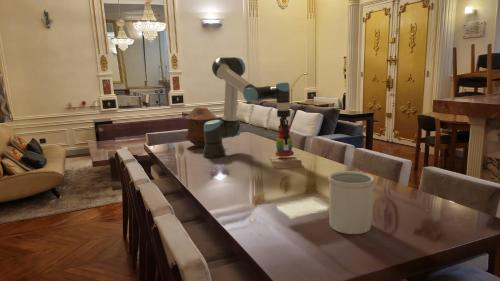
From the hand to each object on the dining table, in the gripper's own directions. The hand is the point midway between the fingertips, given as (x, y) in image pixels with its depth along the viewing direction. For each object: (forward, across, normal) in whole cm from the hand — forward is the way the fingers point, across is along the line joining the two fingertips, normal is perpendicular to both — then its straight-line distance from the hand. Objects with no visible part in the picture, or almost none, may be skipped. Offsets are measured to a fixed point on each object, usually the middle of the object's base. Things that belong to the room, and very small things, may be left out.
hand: (284, 148), depth 209 cm
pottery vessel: (+10, +72, +52) cm, 89 cm away
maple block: (+10, 0, 0) cm, 10 cm away
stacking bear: (+4, 0, 0) cm, 4 cm away
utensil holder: (+10, -90, -7) cm, 91 cm away
